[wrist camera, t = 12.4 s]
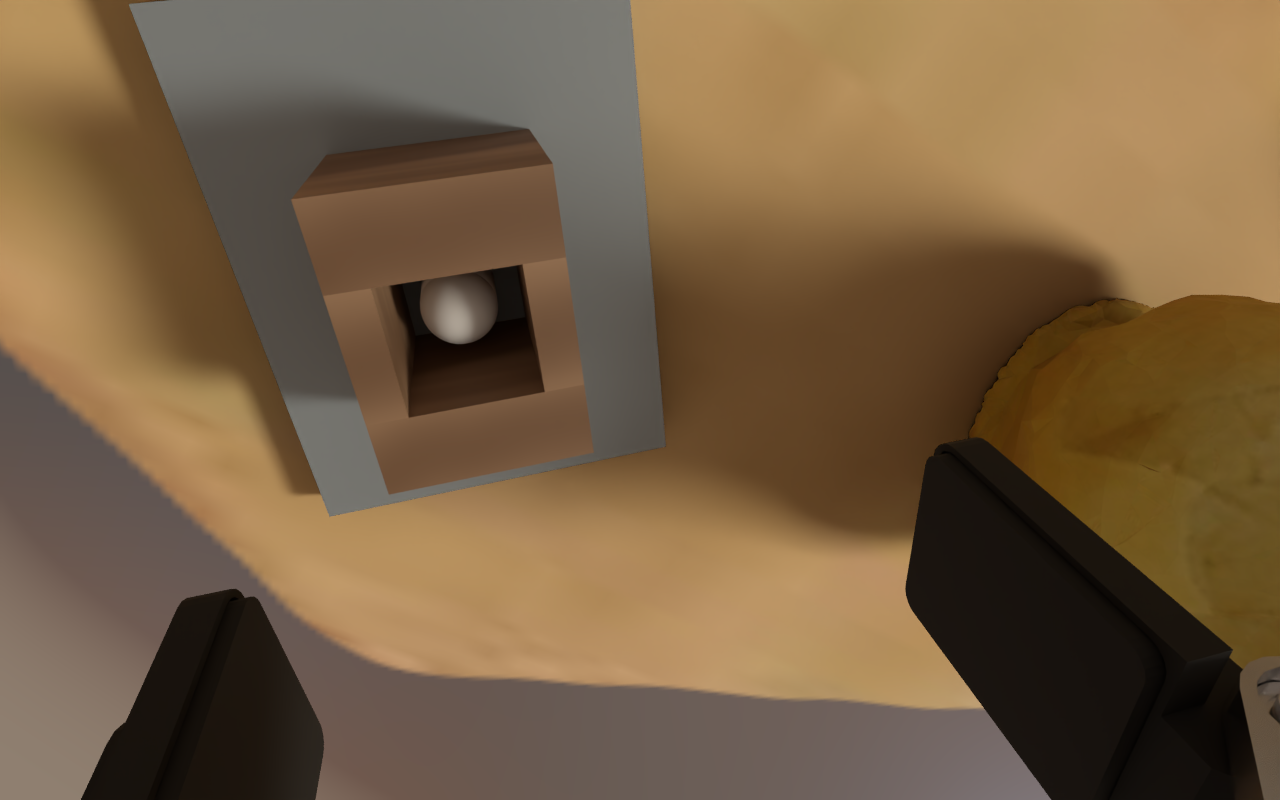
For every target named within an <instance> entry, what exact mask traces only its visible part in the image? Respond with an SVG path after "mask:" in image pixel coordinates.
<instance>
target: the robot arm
mask: <svg viewBox="0 0 1280 800" xmlns="http://www.w3.org/2000/svg"><path fill="white" fill-rule="evenodd" d="M906 596H907V600H908V603H909V605H910V607H911V609H912V611H913V612H914V614H915V615H916V616H917V618H918V619H919V620H920V622H921V623H922V625H923V626H924V627H925V629H926V630H927V631H928V633H929V634H930V635H931V637H932V638H933V639H934V641H935V642H936V644H937V645H938V646H939V648H940V649H941V650H942V652H943V653H944V654H945V656H946V657H947V659H948V660H949V661H950V663H951V664H952V665H953V667H954V668H955V669H956V671H957V672H958V673H959V675H960V676H961V678H962V679H963V680H964V682H965V683H966V684H967V686H968V687H969V688H970V690H971V691H972V692H973V694H974V695H975V697H976V698H977V699H978V701H979V702H980V703H981V705H982V706H983V707H984V709H985V710H986V711H987V713H988V714H989V716H990V717H991V718H992V720H993V721H994V722H995V723H996V725H997V726H998V728H999V729H1000V730H1001V732H1002V733H1003V734H1004V736H1005V737H1006V739H1007V740H1008V741H1009V743H1010V744H1011V745H1012V747H1013V748H1014V750H1015V751H1016V752H1017V754H1018V755H1019V756H1020V758H1021V759H1022V760H1023V762H1024V763H1025V764H1026V766H1027V767H1028V769H1029V770H1030V771H1031V773H1032V774H1033V775H1034V777H1035V778H1036V779H1037V781H1038V782H1039V783H1040V785H1041V786H1042V788H1043V789H1044V790H1045V792H1046V793H1047V794H1048V796H1049V797H1050V798H1051V800H1280V656H1270V657H1262V658H1259V659H1257V660H1254V661H1251V662H1249V663H1248V664H1247V665H1246V667H1245V668H1244V669H1242V668H1241V667H1240V666H1239V665H1237V664H1236V663H1235V662H1234V661H1233V660H1232V659H1230V658H1229V657H1230V655H1231V653H1232V651H1233V649H1232V648H1231V647H1230V646H1228V645H1227V644H1226V643H1225V642H1224V641H1222V640H1221V639H1220V638H1219V637H1218V636H1217V635H1215V634H1214V633H1213V632H1212V631H1211V630H1210V629H1208V628H1207V627H1206V626H1205V625H1204V624H1202V623H1201V622H1200V621H1199V620H1198V619H1197V618H1195V617H1194V616H1193V615H1192V614H1191V613H1189V612H1188V611H1187V610H1186V609H1185V608H1184V607H1182V606H1181V605H1180V604H1179V603H1178V602H1176V601H1175V600H1174V599H1173V598H1172V597H1171V596H1169V595H1168V594H1167V593H1166V592H1165V591H1163V590H1162V589H1161V588H1160V587H1159V586H1158V585H1156V584H1155V583H1154V582H1153V581H1152V580H1151V579H1149V578H1148V577H1147V576H1146V575H1145V574H1143V573H1142V572H1141V571H1140V570H1139V569H1138V568H1136V567H1135V566H1134V565H1133V564H1132V563H1130V562H1129V561H1128V560H1127V559H1126V558H1125V557H1123V556H1122V555H1121V554H1120V553H1119V552H1117V551H1116V550H1115V549H1114V548H1113V547H1112V546H1110V545H1109V544H1108V543H1107V542H1106V541H1104V540H1103V539H1102V538H1101V537H1100V536H1099V535H1097V534H1096V533H1095V532H1094V531H1093V530H1091V529H1090V528H1089V527H1088V526H1087V525H1086V524H1084V523H1083V522H1082V521H1081V520H1080V519H1079V518H1077V517H1076V516H1075V515H1074V514H1073V513H1071V512H1070V511H1069V510H1068V509H1067V508H1066V507H1064V506H1063V505H1062V504H1061V503H1060V502H1058V501H1057V500H1056V499H1055V498H1054V497H1053V496H1051V495H1050V494H1049V493H1048V492H1047V491H1045V490H1044V489H1043V488H1042V487H1041V486H1040V485H1038V484H1037V483H1036V482H1035V481H1034V480H1032V479H1031V478H1030V477H1029V476H1028V475H1027V474H1025V473H1024V472H1023V471H1022V470H1021V469H1020V468H1018V467H1017V466H1016V465H1015V464H1014V463H1012V462H1011V461H1010V460H1009V459H1008V458H1007V457H1005V456H1004V455H1003V454H1002V453H1001V452H999V451H998V450H997V449H996V448H995V447H994V446H992V445H991V444H990V443H989V442H988V441H986V440H984V439H983V438H979V437H974V438H969V439H964V440H959V441H954V442H949V443H945V444H941V445H939V446H938V447H937V449H936V450H935V453H934V456H931V457H929V458H928V460H927V462H926V465H925V471H924V477H923V483H922V489H921V495H920V501H919V507H918V513H917V520H916V526H915V532H914V538H913V544H912V550H911V556H910V562H909V568H908V574H907V581H906ZM323 750H324V740H323V733H322V728H321V725H320V723H319V721H318V719H317V717H316V715H315V712H314V711H313V708H312V706H311V705H310V702H309V701H308V698H307V696H306V694H305V692H304V690H303V688H302V686H301V684H300V682H299V680H298V678H297V676H296V674H295V672H294V670H293V668H292V666H291V664H290V662H289V660H288V658H287V656H286V654H285V652H284V650H283V648H282V646H281V644H280V642H279V640H278V638H277V636H276V634H275V632H274V630H273V628H272V626H271V624H270V622H269V620H268V618H267V616H266V614H265V612H264V610H263V608H262V606H261V604H260V602H259V601H258V599H257V598H255V597H248V598H244V596H243V595H242V593H241V592H240V591H238V590H237V589H229V590H224V591H219V592H215V593H210V594H205V595H200V596H195V597H190V598H186V599H185V600H183V601H182V602H181V603H180V605H179V607H178V608H177V610H176V612H175V614H174V617H173V619H172V621H171V623H170V625H169V628H168V630H167V632H166V634H165V637H164V639H163V641H162V643H161V646H160V648H159V650H158V652H157V654H156V656H155V659H154V661H153V663H152V665H151V667H150V670H149V672H148V674H147V676H146V678H145V681H144V683H143V685H142V687H141V690H140V692H139V694H138V696H137V698H136V701H135V703H134V705H133V708H132V709H131V712H130V714H129V716H128V718H127V720H126V722H125V723H123V724H122V725H121V726H120V727H119V728H118V729H117V730H116V731H115V732H114V733H113V735H112V736H111V738H110V740H109V742H108V743H107V745H106V747H105V749H104V751H103V753H102V755H101V757H100V760H99V762H98V764H97V766H96V768H95V771H94V773H93V775H92V777H91V779H90V781H89V783H88V785H87V788H86V790H85V792H84V794H83V796H82V798H81V800H315V798H316V793H317V787H318V781H319V775H320V770H321V764H322V758H323Z"/></svg>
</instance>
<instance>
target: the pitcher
mask: <svg viewBox="0 0 1280 800" xmlns="http://www.w3.org/2000/svg"><path fill="white" fill-rule="evenodd" d="M1022 344H1023V347H1022V348H1021V349H1018V350H1017V352H1016V354H1015V355H1014V356H1013V357H1011V358H1010V360H1009V362H1008V364H1007V366H1005V367H1001V369H1000V370H999V372H998V374H997V375H998V378H999V380H997V381H996V382H995V383H994V385H993V388H992V389H990V390H988V391H987V393H986V394H985V395H984V398H985V400H984V401H985V402H983V403H982V404H981V405H982V406H983V407H982V410H981V412H980V413H977V415H976V418H975V422H976V423H975V424H974V425H973V427H972V428H971V430H970V432H969V437H970V438H974V437H979V438H983V439H984V440H986V441H988V442H989V443H990V444H991V445H992V446H994V447H995V448H996V449H997V450H998V451H999V452H1001V453H1002V454H1003V455H1004V456H1005V457H1007V458H1008V459H1009V460H1010V461H1011V462H1012V463H1014V464H1015V465H1016V466H1017V467H1018V468H1020V469H1021V470H1022V471H1023V472H1024V473H1025V474H1027V475H1028V476H1029V477H1030V478H1031V479H1032V480H1034V481H1035V482H1036V483H1037V484H1038V485H1040V486H1041V487H1042V488H1043V489H1044V490H1045V491H1047V492H1048V493H1049V494H1050V495H1051V496H1053V497H1054V498H1055V499H1056V500H1057V501H1058V502H1060V503H1061V504H1062V505H1063V506H1064V507H1066V508H1067V509H1068V510H1069V511H1070V512H1071V513H1073V514H1074V515H1075V516H1076V517H1077V518H1079V519H1080V520H1081V521H1082V522H1083V523H1084V524H1086V525H1087V526H1088V527H1089V528H1090V529H1091V530H1093V531H1094V532H1095V533H1096V534H1097V535H1099V536H1100V537H1101V538H1102V539H1103V540H1104V541H1106V542H1107V543H1108V544H1109V545H1110V546H1112V547H1113V548H1114V549H1115V550H1116V551H1117V552H1119V553H1120V554H1121V555H1122V556H1123V557H1125V558H1126V559H1127V560H1128V561H1129V562H1130V563H1132V564H1133V565H1134V566H1135V567H1136V568H1138V569H1139V570H1140V571H1141V572H1142V573H1143V574H1145V575H1146V576H1147V577H1148V578H1149V579H1151V580H1152V581H1153V582H1154V583H1155V584H1156V585H1158V586H1159V587H1160V588H1161V589H1162V590H1163V591H1165V592H1166V593H1167V594H1168V595H1169V596H1171V597H1172V598H1173V599H1174V600H1175V601H1176V602H1178V603H1179V604H1180V605H1181V606H1182V607H1184V608H1185V609H1186V610H1187V611H1188V612H1189V613H1191V614H1192V615H1193V616H1194V617H1195V618H1197V619H1198V620H1199V621H1200V622H1201V623H1202V624H1204V625H1205V626H1206V627H1207V628H1208V629H1210V630H1211V631H1212V632H1213V633H1214V634H1215V635H1217V636H1218V637H1219V638H1220V639H1221V640H1222V641H1224V642H1225V643H1226V644H1227V645H1228V646H1230V647H1231V648H1232V649H1233V651H1232V653H1231V655H1230V657H1229V658H1230V659H1232V660H1233V661H1234V662H1235V663H1236V664H1237V665H1239V666H1240V667H1241V668H1242V669H1244V668H1245V667H1246V665H1247V664H1248V663H1249V662H1251V661H1254V660H1257V659H1259V658H1262V657H1270V656H1280V303H1271V302H1265V301H1261V300H1258V299H1254V298H1251V297H1243V296H1229V295H1190V296H1187V297H1184V298H1180V299H1177V300H1174V301H1171V302H1169V303H1166V304H1164V305H1162V306H1159V307H1157V308H1154V307H1153V308H1150V307H1149V306H1147V305H1146V306H1144V305H1143V304H1140V303H1136V302H1134V301H1131V302H1129V301H1128V300H1119V299H1118V298H1116V300H1111V301H1110V302H1109V301H1107V300H1101V301H1097V302H1096V303H1094V304H1093V305H1092V306H1090V307H1087V306H1082V305H1080V306H1075V307H1073V309H1069V310H1067V311H1066V312H1065V313H1064V314H1062V315H1061V316H1060V317H1059V318H1057V319H1055V320H1053V321H1052V322H1051V323H1050V324H1049V325H1043V326H1042V327H1041V328H1040V329H1036V330H1035V332H1034V333H1033V334H1032V335H1030V336H1028V337H1027V339H1026V341H1025V342H1024V343H1022Z"/></svg>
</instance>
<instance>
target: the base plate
mask: <svg viewBox="0 0 1280 800" xmlns="http://www.w3.org/2000/svg"><path fill="white" fill-rule="evenodd" d="M129 7H130V9H131V12H132V14H133V17H134V19H135V22H136V25H137V27H138V30H139V32H140V35H141V37H142V40H143V42H144V45H145V47H146V50H147V53H148V55H149V58H150V60H151V63H152V65H153V68H154V70H155V73H156V75H157V78H158V81H159V83H160V86H161V88H162V91H163V93H164V96H165V98H166V101H167V103H168V106H169V109H170V111H171V114H172V116H173V119H174V121H175V124H176V126H177V129H178V131H179V134H180V137H181V139H182V142H183V144H184V147H185V149H186V152H187V154H188V157H189V159H190V162H191V165H192V167H193V170H194V172H195V175H196V177H197V180H198V182H199V185H200V188H201V190H202V193H203V195H204V198H205V200H206V203H207V205H208V208H209V210H210V213H211V216H212V218H213V221H214V223H215V226H216V228H217V231H218V233H219V236H220V238H221V241H222V244H223V246H224V249H225V251H226V254H227V256H228V259H229V261H230V264H231V266H232V269H233V272H234V274H235V277H236V279H237V282H238V284H239V287H240V289H241V292H242V294H243V297H244V300H245V302H246V305H247V307H248V310H249V312H250V315H251V317H252V320H253V323H254V325H255V328H256V330H257V333H258V335H259V338H260V340H261V343H262V345H263V348H264V351H265V353H266V356H267V358H268V361H269V363H270V366H271V368H272V371H273V373H274V376H275V379H276V381H277V384H278V386H279V389H280V391H281V394H282V396H283V399H284V401H285V404H286V407H287V409H288V412H289V414H290V417H291V419H292V422H293V424H294V427H295V429H296V432H297V435H298V437H299V440H300V442H301V445H302V447H303V450H304V452H305V455H306V457H307V460H308V463H309V465H310V468H311V470H312V473H313V475H314V478H315V480H316V483H317V486H318V488H319V491H320V493H321V496H322V498H323V501H324V503H325V506H326V508H327V511H328V514H329V516H335V515H340V514H344V513H349V512H354V511H359V510H364V509H369V508H373V507H378V506H383V505H388V504H393V503H397V502H402V501H407V500H412V499H417V498H421V497H426V496H431V495H436V494H441V493H445V492H450V491H455V490H460V489H465V488H469V487H474V486H479V485H484V484H489V483H493V482H498V481H503V480H508V479H513V478H517V477H522V476H527V475H532V474H537V473H542V472H546V471H551V470H556V469H561V468H566V467H570V466H575V465H580V464H585V463H590V462H594V461H599V460H604V459H609V458H614V457H618V456H623V455H628V454H633V453H638V452H642V451H647V450H652V449H657V448H662V447H666V443H665V430H664V418H663V405H662V393H661V380H660V368H659V355H658V343H657V330H656V318H655V305H654V293H653V280H652V268H651V255H650V243H649V230H648V218H647V205H646V193H645V180H644V168H643V155H642V143H641V130H640V118H639V105H638V93H637V80H636V68H635V55H634V43H633V30H632V18H631V5H630V0H167V1H156V2H145V3H134V4H129ZM525 129H529V130H530V131H531V132H532V134H533V135H534V137H535V138H536V140H537V141H538V143H539V144H540V146H541V147H542V149H543V150H544V151H545V153H546V154H547V156H548V157H549V159H550V160H551V162H552V163H553V168H554V175H555V182H556V189H557V196H558V204H559V211H560V218H561V225H562V232H563V239H564V246H565V253H566V260H567V267H568V274H569V281H570V288H571V295H572V302H573V309H574V316H575V323H576V330H577V337H578V344H579V351H580V358H581V365H582V373H583V380H584V387H585V394H586V401H587V408H588V415H589V422H590V429H591V436H592V443H593V450H594V453H589V454H585V455H580V456H575V457H570V458H565V459H560V460H555V461H551V462H546V463H541V464H536V465H531V466H526V467H521V468H517V469H512V470H507V471H502V472H497V473H492V474H487V475H482V476H478V477H473V478H468V479H463V480H458V481H453V482H448V483H444V484H439V485H434V486H429V487H424V488H419V489H414V490H410V491H405V492H400V493H395V494H390V495H389V494H388V491H387V488H386V485H385V482H384V479H383V476H382V473H381V470H380V467H379V464H378V460H377V457H376V454H375V451H374V448H373V445H372V442H371V439H370V436H369V433H368V430H367V427H366V424H365V421H364V418H363V415H362V412H361V409H360V406H359V403H358V400H357V397H356V394H355V391H354V388H353V385H352V382H351V379H350V376H349V373H348V370H347V367H346V364H345V361H344V358H343V355H342V352H341V349H340V346H339V343H338V340H337V337H336V334H335V331H334V328H333V325H332V322H331V319H330V316H329V313H328V310H327V307H326V304H325V301H324V298H323V294H322V291H321V288H320V285H319V282H318V279H317V276H316V273H315V270H314V267H313V264H312V261H311V258H310V255H309V252H308V249H307V246H306V243H305V240H304V237H303V234H302V231H301V228H300V225H299V222H298V219H297V216H296V213H295V210H294V207H293V204H292V201H291V199H292V198H293V196H294V195H295V194H296V193H297V191H298V190H299V189H300V187H301V186H302V185H303V184H304V182H305V181H306V180H307V179H308V177H309V176H310V175H311V174H312V172H313V171H314V170H315V169H316V167H317V166H318V165H319V163H320V162H321V161H322V160H323V158H324V157H325V156H326V155H329V154H337V153H345V152H353V151H361V150H368V149H376V148H384V147H392V146H400V145H407V144H415V143H423V142H431V141H439V140H447V139H454V138H462V137H470V136H478V135H486V134H493V133H501V132H509V131H517V130H525ZM402 287H403V290H404V294H405V298H406V301H407V305H408V309H409V313H410V316H411V320H412V324H413V327H414V331H415V335H416V336H418V335H424V334H430V333H433V334H434V335H435V336H437V337H438V338H440V339H442V340H444V341H446V342H449V343H453V344H467V343H472V342H474V341H477V340H479V339H481V338H482V337H483V336H485V335H486V334H487V333H488V332H489V331H490V330H491V328H492V327H493V325H494V323H495V322H500V321H506V320H512V319H518V318H523V317H525V312H524V306H523V300H522V295H521V289H520V284H519V278H518V273H517V267H516V265H515V266H509V267H503V268H497V269H490V270H484V271H478V272H471V273H465V274H459V275H453V276H446V277H440V278H434V279H427V280H421V281H415V282H409V283H402Z"/></svg>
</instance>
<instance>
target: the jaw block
mask: <svg viewBox="0 0 1280 800" xmlns="http://www.w3.org/2000/svg"><path fill="white" fill-rule="evenodd" d="M291 201H292V204H293V207H294V210H295V213H296V216H297V219H298V222H299V225H300V228H301V231H302V234H303V237H304V240H305V243H306V246H307V249H308V252H309V255H310V258H311V261H312V264H313V267H314V270H315V273H316V276H317V279H318V282H319V285H320V288H321V291H322V294H323V298H324V301H325V304H326V307H327V310H328V313H329V316H330V319H331V322H332V325H333V328H334V331H335V334H336V337H337V340H338V343H339V346H340V349H341V352H342V355H343V358H344V361H345V364H346V367H347V370H348V373H349V376H350V379H351V382H352V385H353V388H354V391H355V394H356V397H357V400H358V403H359V406H360V409H361V412H362V415H363V418H364V421H365V424H366V427H367V430H368V433H369V436H370V439H371V442H372V445H373V448H374V451H375V454H376V457H377V460H378V464H379V467H380V470H381V473H382V476H383V479H384V482H385V485H386V488H387V491H388V494H389V495H390V494H395V493H400V492H405V491H410V490H414V489H419V488H424V487H429V486H434V485H439V484H444V483H448V482H453V481H458V480H463V479H468V478H473V477H478V476H482V475H487V474H492V473H497V472H502V471H507V470H512V469H517V468H521V467H526V466H531V465H536V464H541V463H546V462H551V461H555V460H560V459H565V458H570V457H575V456H580V455H585V454H589V453H594V450H593V443H592V436H591V429H590V422H589V415H588V408H587V401H586V394H585V387H584V380H583V373H582V365H581V358H580V351H579V344H578V337H577V330H576V323H575V316H574V309H573V302H572V295H571V288H570V281H569V274H568V267H567V260H566V253H565V246H564V239H563V232H562V225H561V218H560V211H559V204H558V196H557V189H556V182H555V175H554V168H553V163H552V162H551V160H550V159H549V157H548V156H547V154H546V153H545V151H544V150H543V149H542V147H541V146H540V144H539V143H538V141H537V140H536V138H535V137H534V135H533V134H532V132H531V131H530V130H529V129H525V130H517V131H509V132H501V133H493V134H486V135H478V136H470V137H462V138H454V139H447V140H439V141H431V142H423V143H415V144H407V145H400V146H392V147H384V148H376V149H368V150H361V151H353V152H345V153H337V154H329V155H326V156H325V157H324V158H323V160H322V161H321V162H320V163H319V165H318V166H317V167H316V169H315V170H314V171H313V172H312V174H311V175H310V176H309V177H308V179H307V180H306V181H305V182H304V184H303V185H302V186H301V187H300V189H299V190H298V191H297V193H296V194H295V195H294V196H293V198H292V199H291ZM515 265H516V267H517V273H518V278H519V284H520V289H521V295H522V300H523V306H524V312H525V317H523V318H518V319H512V320H506V321H500V322H495V323H494V325H493V327H492V328H491V330H490V331H489V332H488V333H487V334H486V335H485V336H483V337H482V338H481V339H479V340H477V341H474V342H472V343H467V344H453V343H449V342H446V341H444V340H442V339H440V338H438V337H437V336H435V335H434V334H433V333H430V334H424V335H418V336H416V335H415V331H414V327H413V324H412V320H411V316H410V313H409V309H408V305H407V301H406V298H405V294H404V290H403V287H402V283H409V282H415V281H421V280H427V279H434V278H440V277H446V276H453V275H459V274H465V273H471V272H478V271H484V270H490V269H497V268H503V267H509V266H515Z"/></svg>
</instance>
